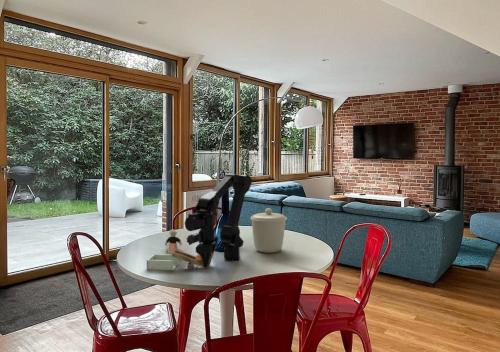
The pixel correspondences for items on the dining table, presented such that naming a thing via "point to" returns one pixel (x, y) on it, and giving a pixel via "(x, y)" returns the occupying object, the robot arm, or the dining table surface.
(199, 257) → the ball
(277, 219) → the canister
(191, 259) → the brown wooden ramp
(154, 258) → the tray
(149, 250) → the dining table surface
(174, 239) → the grandmother figurine
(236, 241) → the robot arm
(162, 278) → the dining table surface
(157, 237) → the dining table surface
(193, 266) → the fulcrum
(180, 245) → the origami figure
